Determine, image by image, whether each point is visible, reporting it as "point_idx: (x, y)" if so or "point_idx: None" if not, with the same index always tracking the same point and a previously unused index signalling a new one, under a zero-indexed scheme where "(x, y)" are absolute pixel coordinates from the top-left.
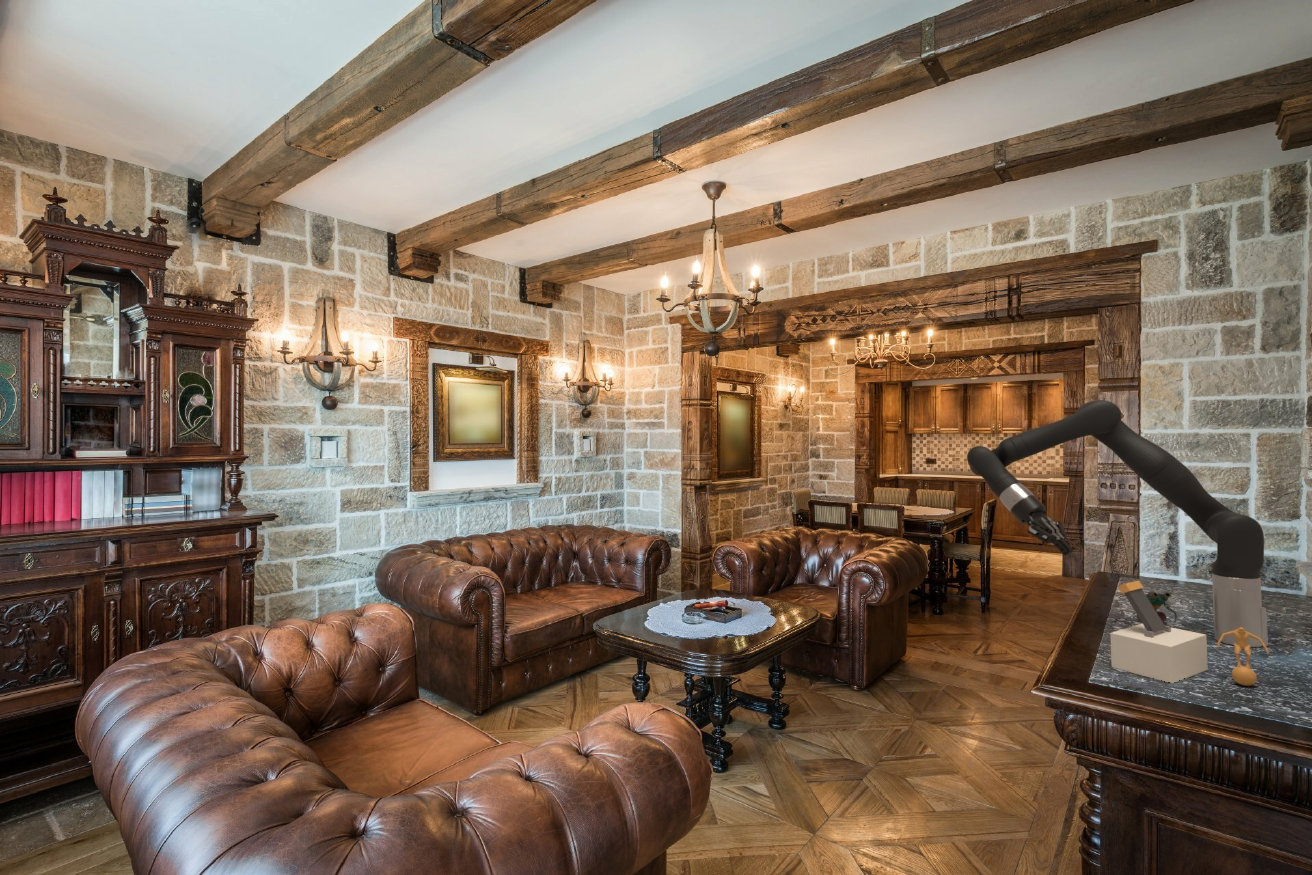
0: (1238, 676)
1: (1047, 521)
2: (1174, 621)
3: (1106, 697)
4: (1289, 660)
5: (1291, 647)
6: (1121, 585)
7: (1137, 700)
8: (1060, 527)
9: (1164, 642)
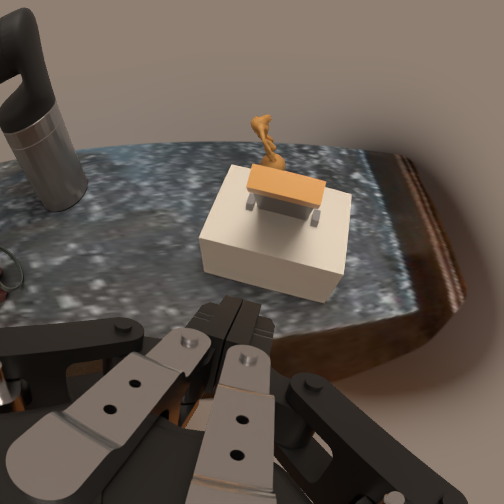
0: (284, 168)
1: (107, 480)
2: (7, 253)
3: (444, 279)
4: (127, 151)
5: None
6: (322, 194)
7: (425, 253)
8: (37, 348)
9: (332, 202)
